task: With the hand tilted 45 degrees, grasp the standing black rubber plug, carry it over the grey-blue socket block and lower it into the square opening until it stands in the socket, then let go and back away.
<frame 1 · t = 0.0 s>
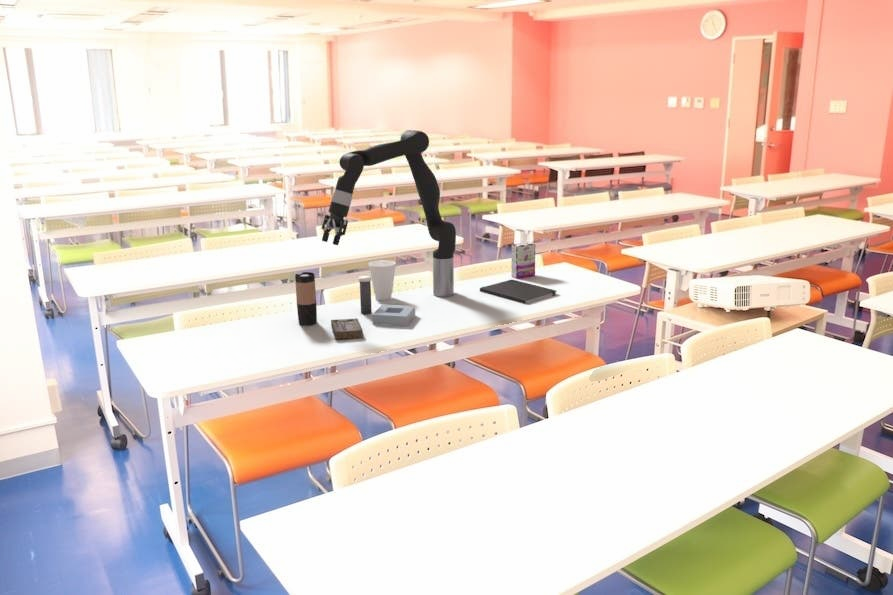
hand: (329, 243, 289), 31 cm above the table, tool tilted 20°, fingers open, 8 cm apart
candy bar box: (522, 276, 362), on the table
notebook: (518, 294, 333), on the table
socket: (394, 319, 297), on the table
travel mug: (307, 323, 294), on the table
cup: (383, 298, 327), on the table
box: (346, 333, 283), on the table
plug: (366, 312, 306), on the table
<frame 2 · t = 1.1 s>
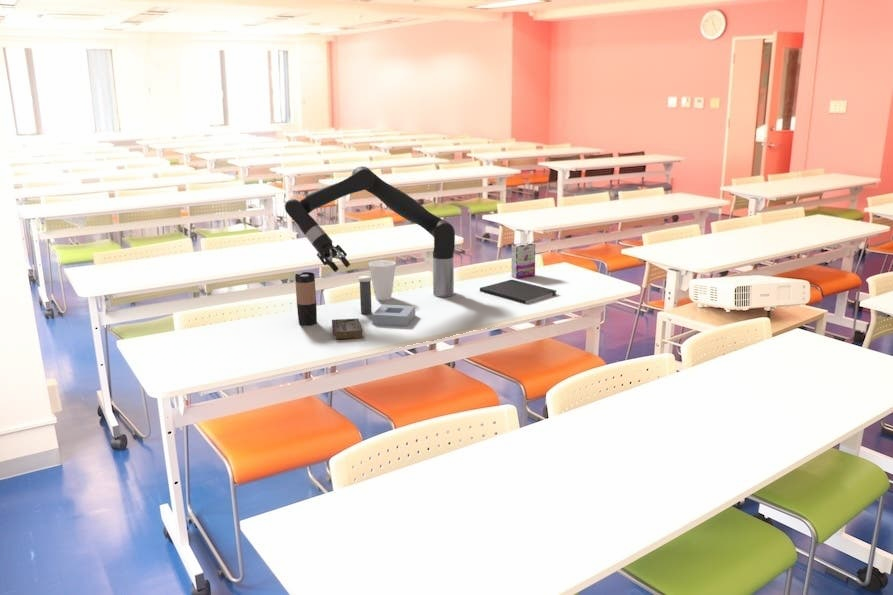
hand: (342, 268, 305), 18 cm above the table, tool tilted 45°, fingers open, 8 cm apart
nothing on the table moved.
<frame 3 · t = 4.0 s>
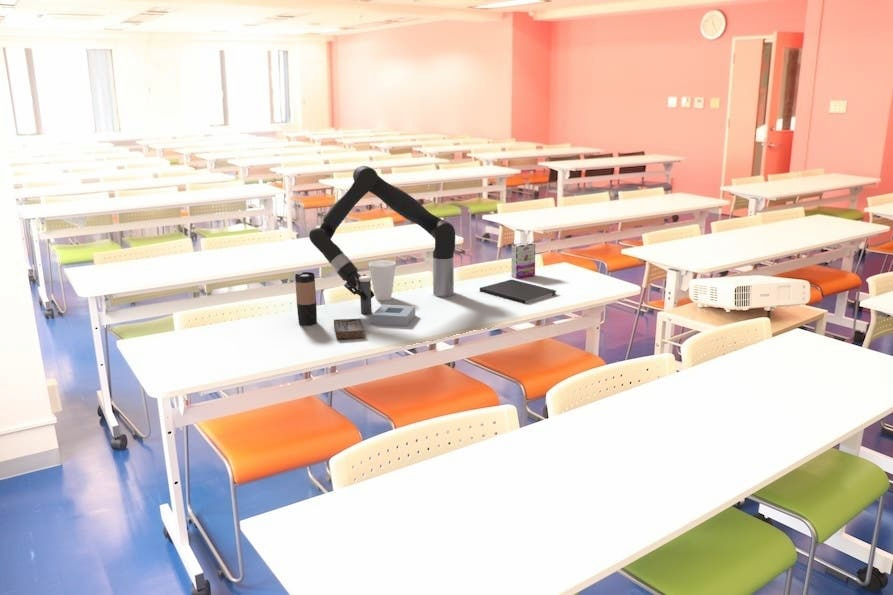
hand: (369, 298, 303), 7 cm above the table, tool tilted 45°, fingers closed on plug, 4 cm apart
plug: (366, 312, 306), on the table, touching gripper
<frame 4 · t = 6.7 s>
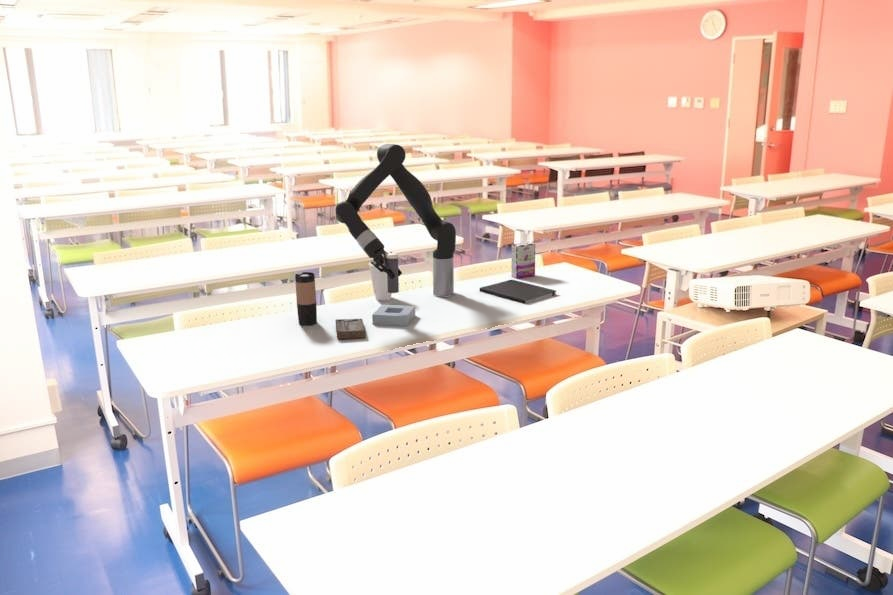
hand: (397, 276, 291), 18 cm above the table, tool tilted 45°, fingers closed on plug, 4 cm apart
plug: (393, 291, 293), point 12 cm above the table, touching gripper
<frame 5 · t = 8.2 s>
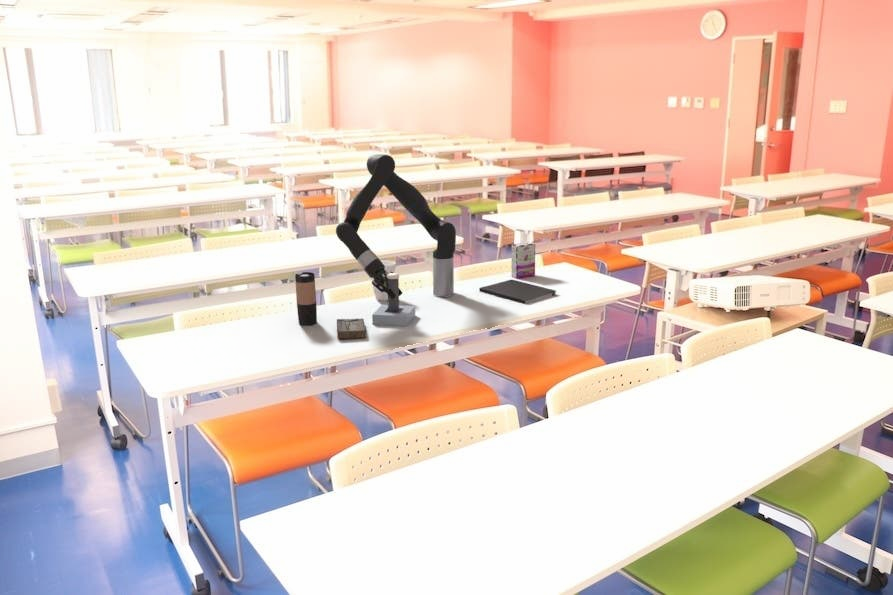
hand: (397, 296, 293), 10 cm above the table, tool tilted 45°, fingers closed on plug, 4 cm apart
plug: (393, 311, 296), point 4 cm above the table, touching gripper
when the fingers open (7 cm above the table, at t = 9.4 s): plug stays where it is, resting in socket.
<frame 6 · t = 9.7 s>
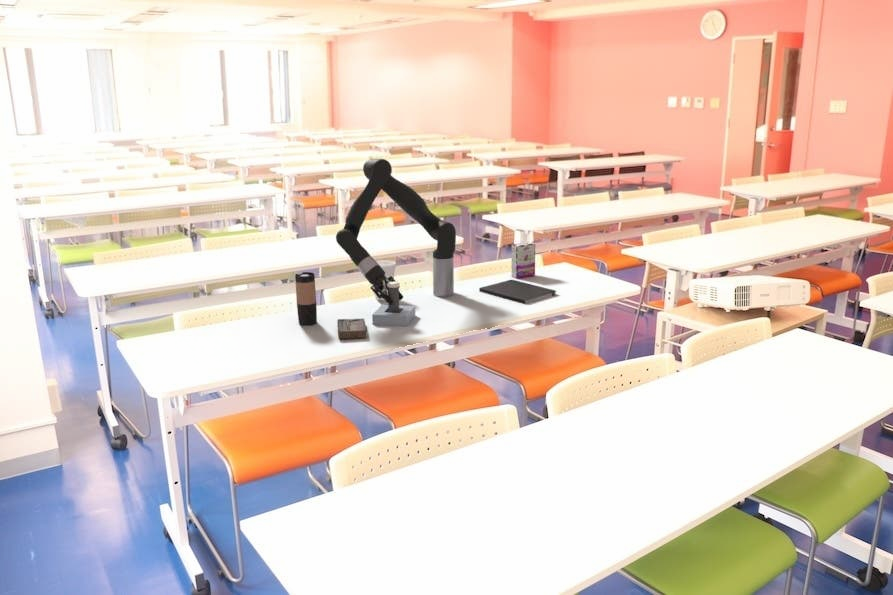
hand: (397, 301, 294), 8 cm above the table, tool tilted 45°, fingers open, 7 cm apart
plug: (394, 319, 297), resting in socket
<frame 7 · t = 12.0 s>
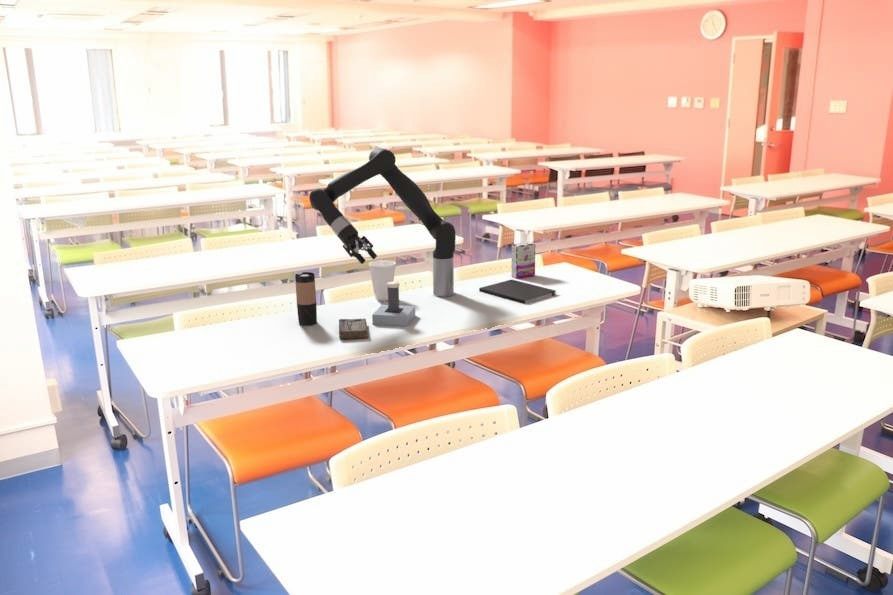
hand: (369, 260, 295), 24 cm above the table, tool tilted 45°, fingers open, 8 cm apart
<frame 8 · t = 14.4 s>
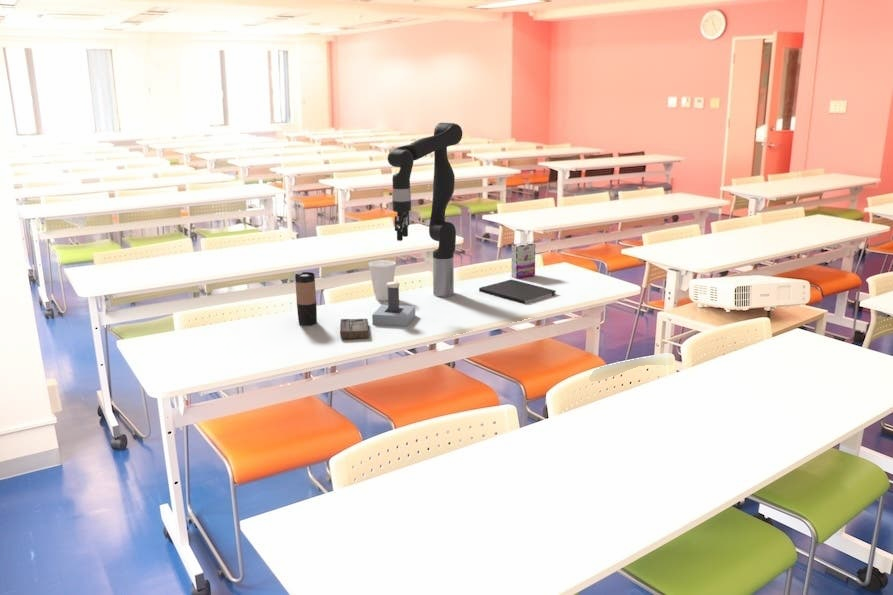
hand: (402, 238, 303), 30 cm above the table, tool pointing down, fingers open, 8 cm apart
at the end: plug 0.1 cm off-centre on the socket, point 0.0 cm above the socket's base; plug tilted 0°; the gripper is holding nothing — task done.
